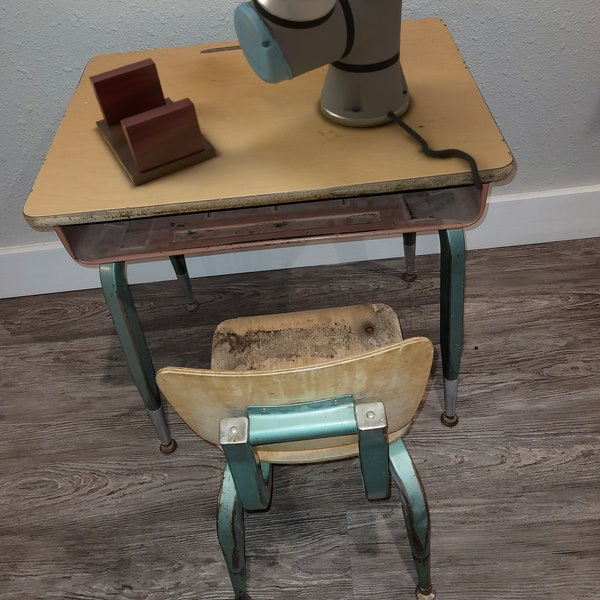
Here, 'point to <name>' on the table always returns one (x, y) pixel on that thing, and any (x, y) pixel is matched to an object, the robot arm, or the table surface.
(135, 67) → the book stand
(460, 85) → the table surface
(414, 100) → the table surface
